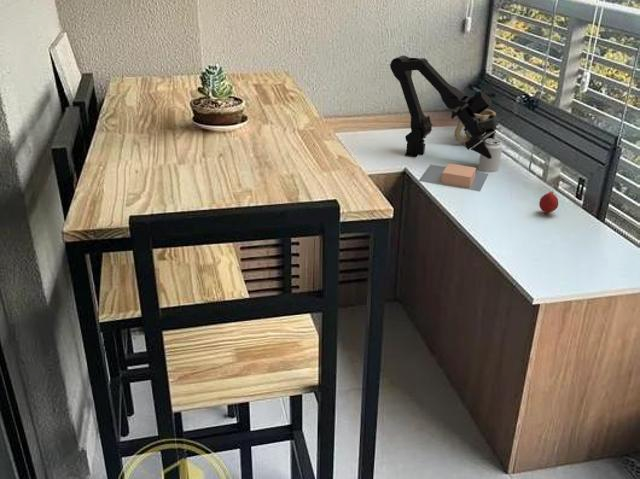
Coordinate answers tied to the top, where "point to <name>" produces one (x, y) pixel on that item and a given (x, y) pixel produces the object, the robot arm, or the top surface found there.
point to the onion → (548, 202)
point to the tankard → (483, 116)
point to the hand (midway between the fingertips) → (494, 155)
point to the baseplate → (435, 177)
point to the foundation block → (458, 175)
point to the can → (495, 151)
